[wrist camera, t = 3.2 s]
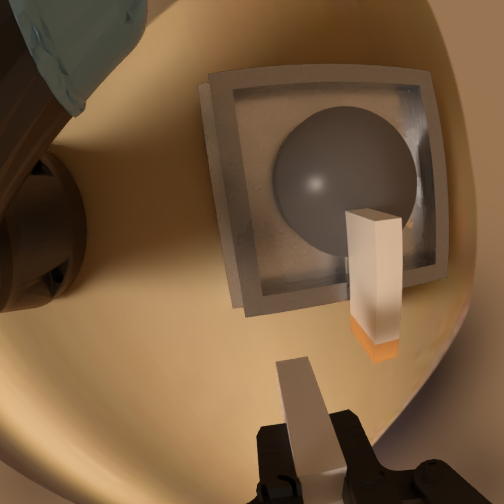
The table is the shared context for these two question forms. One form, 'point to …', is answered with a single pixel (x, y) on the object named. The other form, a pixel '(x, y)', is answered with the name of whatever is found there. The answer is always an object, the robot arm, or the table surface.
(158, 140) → the table surface
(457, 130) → the table surface
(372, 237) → the grey dome with handle
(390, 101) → the grey rectangular tray
